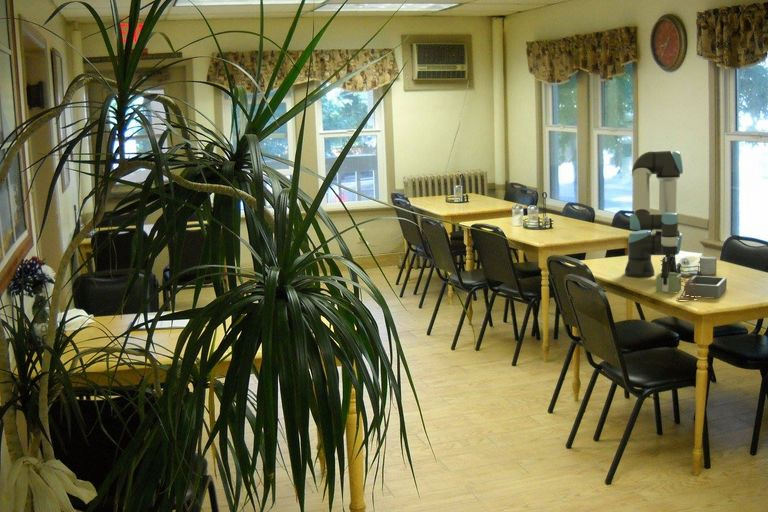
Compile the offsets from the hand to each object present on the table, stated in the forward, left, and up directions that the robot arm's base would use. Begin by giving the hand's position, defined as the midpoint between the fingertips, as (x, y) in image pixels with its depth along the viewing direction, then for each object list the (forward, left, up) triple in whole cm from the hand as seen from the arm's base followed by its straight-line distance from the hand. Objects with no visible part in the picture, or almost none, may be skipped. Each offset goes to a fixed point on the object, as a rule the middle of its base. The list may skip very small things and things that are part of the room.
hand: (668, 288), depth 433 cm
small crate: (0, 0, -1) cm, 1 cm away
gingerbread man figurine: (+12, -16, -2) cm, 20 cm away
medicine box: (+9, +46, -2) cm, 47 cm away
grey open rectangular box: (+17, +1, -1) cm, 17 cm away
